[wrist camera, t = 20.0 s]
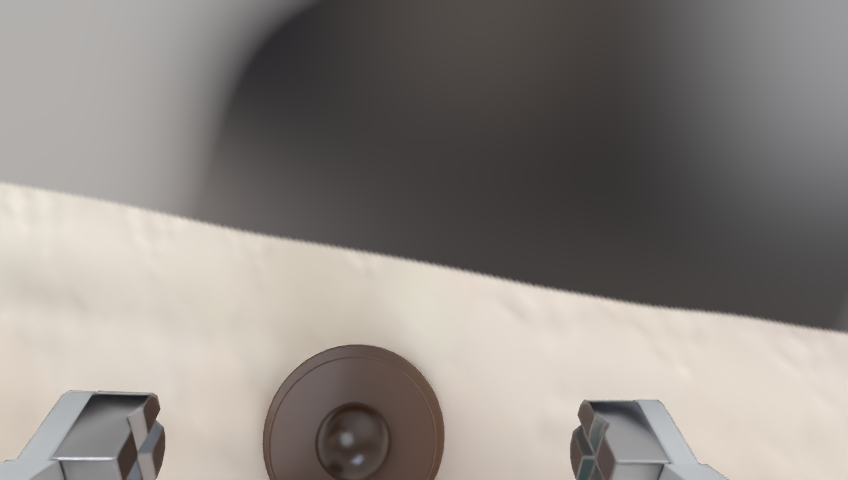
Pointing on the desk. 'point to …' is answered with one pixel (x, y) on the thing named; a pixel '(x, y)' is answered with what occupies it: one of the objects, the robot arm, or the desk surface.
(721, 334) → the desk surface
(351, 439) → the lid
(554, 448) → the desk surface
